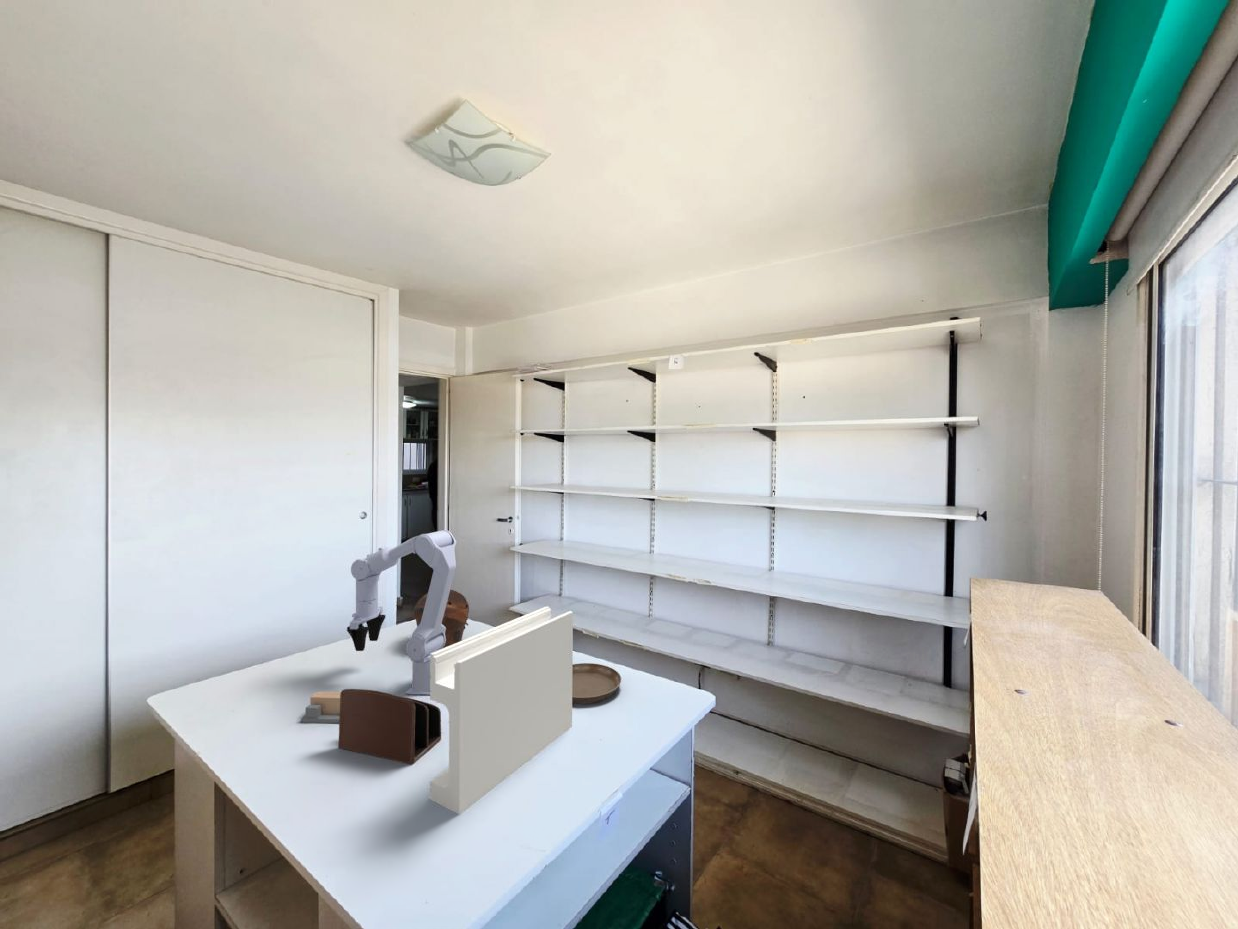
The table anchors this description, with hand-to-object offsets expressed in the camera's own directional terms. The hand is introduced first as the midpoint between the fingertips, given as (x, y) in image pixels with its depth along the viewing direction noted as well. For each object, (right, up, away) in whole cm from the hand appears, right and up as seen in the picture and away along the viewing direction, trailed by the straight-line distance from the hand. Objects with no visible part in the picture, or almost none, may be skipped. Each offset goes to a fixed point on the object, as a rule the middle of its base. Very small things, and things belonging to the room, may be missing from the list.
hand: (367, 645), depth 148 cm
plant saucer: (+64, -11, -6) cm, 65 cm away
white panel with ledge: (+50, -11, -38) cm, 64 cm away
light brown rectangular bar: (+4, -9, -21) cm, 23 cm away
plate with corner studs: (+4, -10, -21) cm, 24 cm away
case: (+14, -9, +24) cm, 29 cm away
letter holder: (+22, -11, -33) cm, 41 cm away
